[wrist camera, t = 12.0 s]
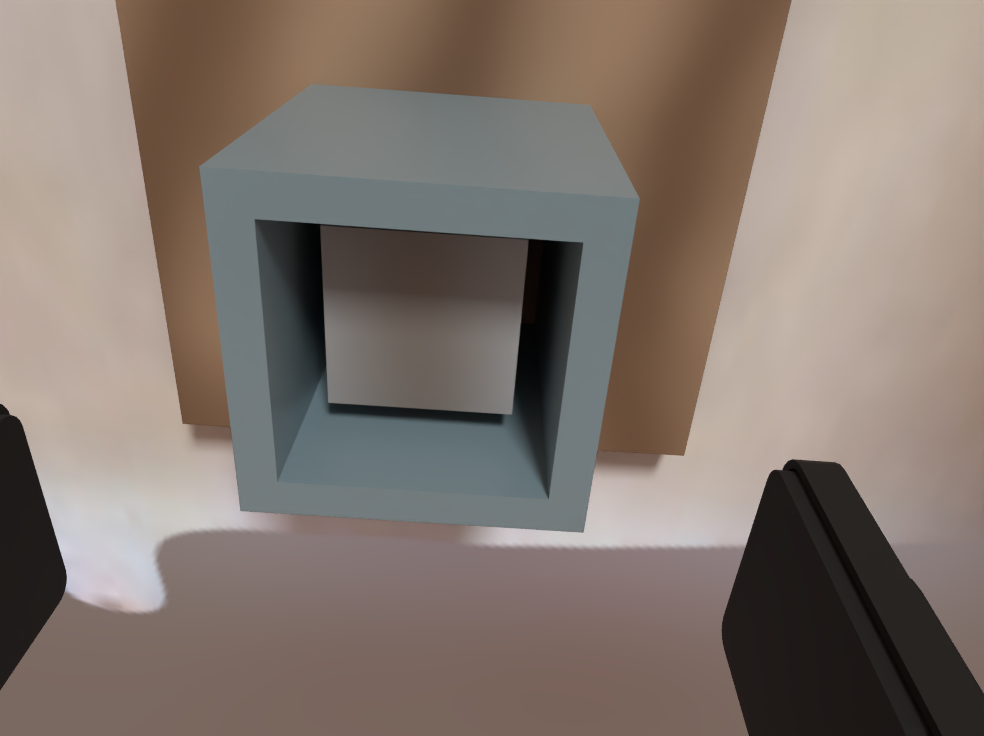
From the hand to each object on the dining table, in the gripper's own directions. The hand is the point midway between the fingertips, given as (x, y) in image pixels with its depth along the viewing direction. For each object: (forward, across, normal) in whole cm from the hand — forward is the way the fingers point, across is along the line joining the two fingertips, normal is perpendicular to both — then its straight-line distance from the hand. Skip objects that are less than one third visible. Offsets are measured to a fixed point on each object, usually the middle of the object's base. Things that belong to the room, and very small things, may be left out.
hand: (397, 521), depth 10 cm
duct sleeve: (+12, 0, +1) cm, 12 cm away
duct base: (+14, 0, +1) cm, 14 cm away
